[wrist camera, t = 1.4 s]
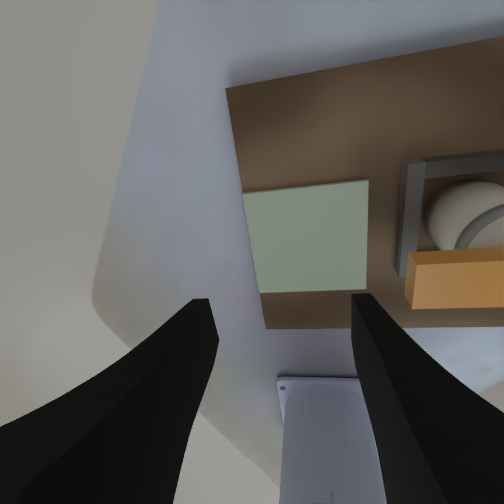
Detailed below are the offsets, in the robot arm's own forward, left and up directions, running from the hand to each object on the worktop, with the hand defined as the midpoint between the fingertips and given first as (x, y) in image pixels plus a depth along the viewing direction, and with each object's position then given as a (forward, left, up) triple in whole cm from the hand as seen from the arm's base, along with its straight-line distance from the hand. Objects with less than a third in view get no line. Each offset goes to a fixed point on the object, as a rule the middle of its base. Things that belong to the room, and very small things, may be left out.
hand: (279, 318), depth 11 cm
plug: (0, -10, -8) cm, 13 cm away
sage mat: (-1, -1, -8) cm, 9 cm away
